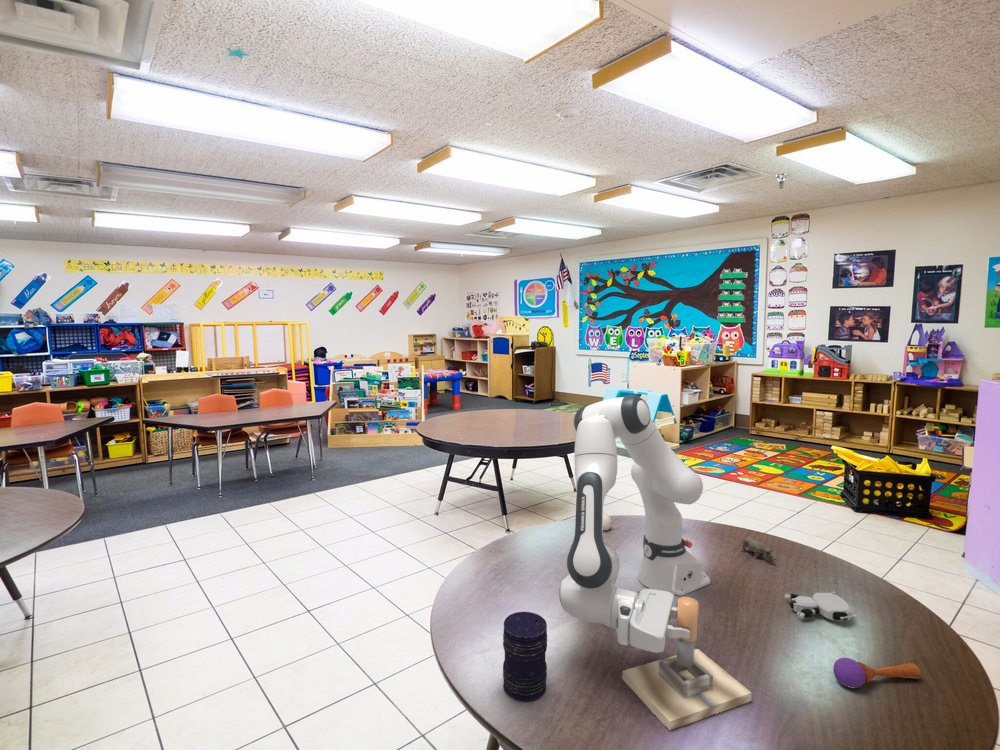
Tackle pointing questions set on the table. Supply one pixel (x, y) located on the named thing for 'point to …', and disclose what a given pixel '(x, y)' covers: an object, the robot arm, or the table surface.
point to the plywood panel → (685, 689)
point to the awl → (689, 619)
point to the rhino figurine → (757, 549)
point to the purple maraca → (869, 672)
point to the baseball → (606, 521)
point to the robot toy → (821, 606)
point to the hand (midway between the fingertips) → (691, 626)
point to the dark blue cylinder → (525, 656)
